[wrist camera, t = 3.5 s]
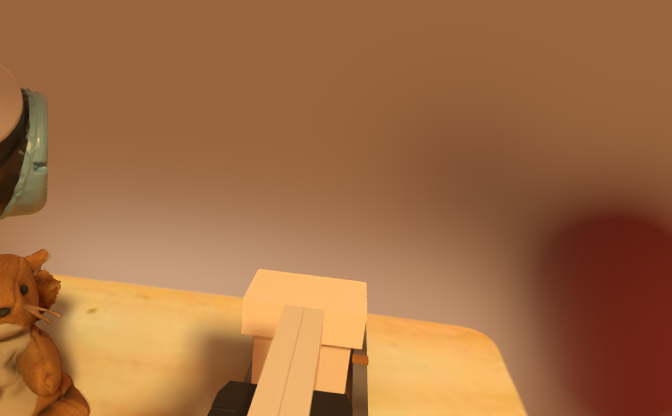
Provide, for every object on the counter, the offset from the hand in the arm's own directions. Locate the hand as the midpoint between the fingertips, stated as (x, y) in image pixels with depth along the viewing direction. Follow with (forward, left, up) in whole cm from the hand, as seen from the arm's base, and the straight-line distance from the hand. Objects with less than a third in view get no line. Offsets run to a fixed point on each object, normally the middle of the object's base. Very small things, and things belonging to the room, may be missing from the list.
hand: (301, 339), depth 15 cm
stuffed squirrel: (-25, -4, -18) cm, 31 cm away
